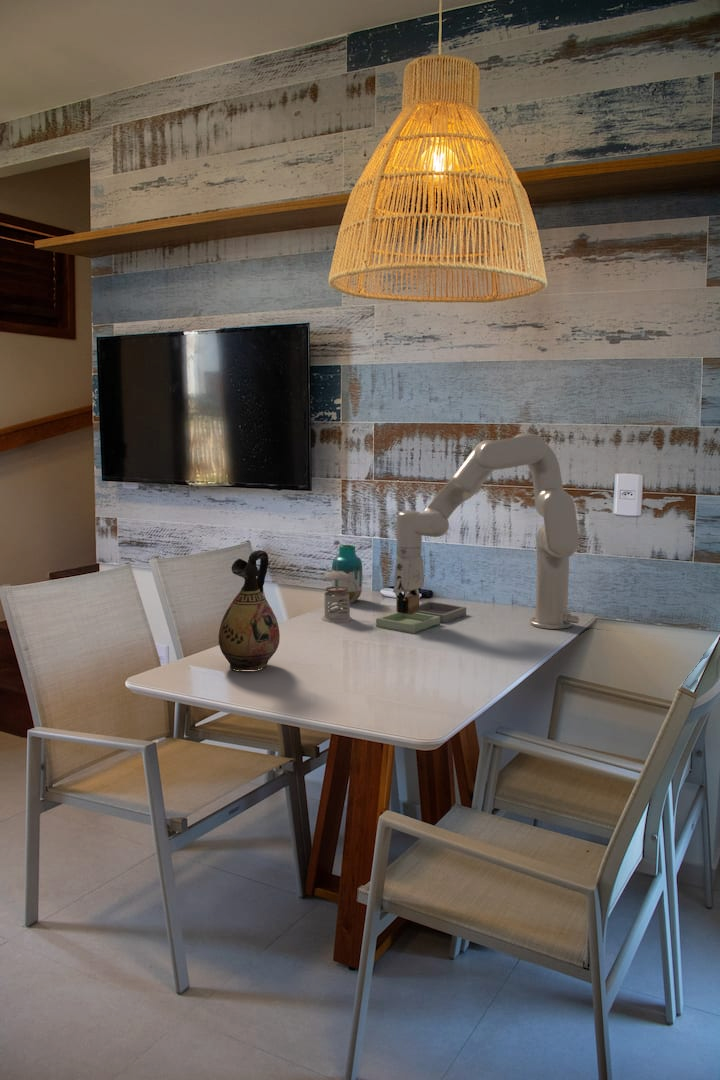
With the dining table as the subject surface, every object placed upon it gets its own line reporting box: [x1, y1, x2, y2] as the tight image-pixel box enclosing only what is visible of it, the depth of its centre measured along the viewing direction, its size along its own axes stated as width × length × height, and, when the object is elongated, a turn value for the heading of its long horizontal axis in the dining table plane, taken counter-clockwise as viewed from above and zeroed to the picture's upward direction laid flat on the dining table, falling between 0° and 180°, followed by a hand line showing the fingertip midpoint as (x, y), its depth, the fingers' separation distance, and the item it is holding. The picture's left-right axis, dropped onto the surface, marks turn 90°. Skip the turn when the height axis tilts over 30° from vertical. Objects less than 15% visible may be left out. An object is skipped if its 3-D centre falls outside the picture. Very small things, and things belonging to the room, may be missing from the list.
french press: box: [321, 540, 358, 624], centre depth 272 cm, size 10×12×25 cm
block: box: [395, 593, 420, 614], centre depth 265 cm, size 5×5×5 cm
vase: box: [331, 544, 364, 602], centre depth 298 cm, size 11×11×19 cm
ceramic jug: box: [217, 549, 281, 670], centre depth 221 cm, size 17×15×30 cm
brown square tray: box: [416, 601, 467, 624], centre depth 278 cm, size 14×14×2 cm
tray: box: [375, 611, 441, 635], centre depth 265 cm, size 14×14×2 cm
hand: (407, 610), depth 265 cm, fingers closed on block, 5 cm apart
